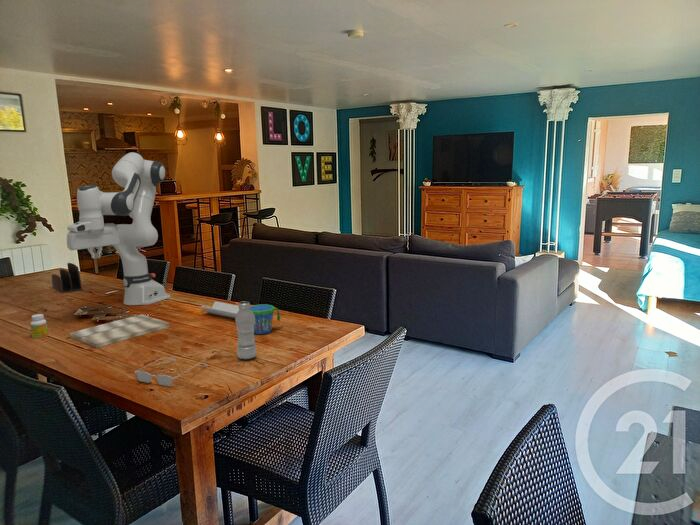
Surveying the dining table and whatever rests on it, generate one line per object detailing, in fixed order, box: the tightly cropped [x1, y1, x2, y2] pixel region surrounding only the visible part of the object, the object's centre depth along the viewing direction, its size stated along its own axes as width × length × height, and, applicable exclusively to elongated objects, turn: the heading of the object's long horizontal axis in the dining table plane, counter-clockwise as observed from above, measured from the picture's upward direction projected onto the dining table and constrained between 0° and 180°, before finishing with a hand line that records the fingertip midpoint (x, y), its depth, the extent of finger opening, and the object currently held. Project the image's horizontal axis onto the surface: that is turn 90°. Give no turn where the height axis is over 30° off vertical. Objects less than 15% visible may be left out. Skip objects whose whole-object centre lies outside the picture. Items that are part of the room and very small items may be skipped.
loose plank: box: [81, 317, 171, 349], centre depth 196 cm, size 30×12×2 cm, turn 142°
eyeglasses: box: [134, 357, 209, 387], centre depth 160 cm, size 15×18×4 cm
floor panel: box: [69, 314, 153, 342], centre depth 199 cm, size 32×25×2 cm
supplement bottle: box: [30, 313, 49, 339], centre depth 194 cm, size 5×5×10 cm
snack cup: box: [250, 303, 281, 335], centre depth 198 cm, size 16×10×10 cm
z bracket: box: [200, 300, 239, 319], centre depth 221 cm, size 12×25×6 cm
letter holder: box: [51, 262, 83, 294], centre depth 276 cm, size 10×20×14 cm, turn 44°
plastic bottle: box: [234, 300, 257, 360], centre depth 170 cm, size 6×7×20 cm
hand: (96, 257), depth 207 cm, fingers closed
